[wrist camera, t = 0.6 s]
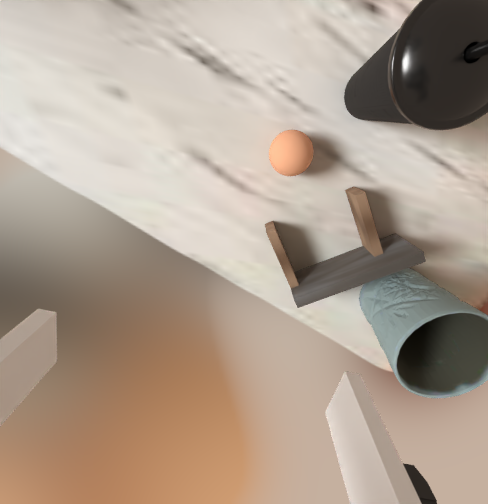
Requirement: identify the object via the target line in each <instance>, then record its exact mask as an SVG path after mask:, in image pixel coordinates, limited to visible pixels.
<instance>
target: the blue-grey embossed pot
mask: <svg viewBox="0 0 488 504" xmlns="http://www.w3.org/2000/svg"><path fill="white" fill-rule="evenodd" d="M359 301H360V306H361V309H362V311H363V313H364V315H365V317H366V319H367V321H368V322H369V323H370V324H371V325H372V328H373V330H374V332H375V335H376V336H377V339H378V341H379V343H380V346H381V347H382V349H383V350H384V352H385V354H386V356H387V358H388V361H389V363H390V365H391V368H392V370H393V372H394V374H395V376H396V377H397V379H398V380H399V382H400V384H401V385H402V386H403V387H404V388H406V389H407V390H408V391H410V392H412V393H414V394H416V395H420V396H423V397H429V398H447V397H452V396H458V395H461V394H463V393H466V392H469V391H471V390H473V389H475V388H477V387H478V386H480V385H482V384H483V383H484V382H485V381H487V380H488V315H486V314H485V313H483V312H481V311H479V310H478V309H476V308H474V307H473V306H471V305H469V304H468V303H466V302H463V301H460V300H459V299H458V297H456V296H455V295H453V294H451V293H450V292H448V291H446V290H445V289H443V288H440V287H439V286H438V285H437V284H435V283H433V282H432V281H429V280H428V279H427V278H426V277H424V276H423V275H421V274H420V273H418V272H416V271H415V270H413V269H410V268H407V269H404V270H401V271H398V272H396V273H393V274H390V275H387V276H385V277H382V278H379V279H376V280H373V281H371V282H368V283H365V284H364V285H363V287H362V289H361V292H360V297H359Z"/></svg>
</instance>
